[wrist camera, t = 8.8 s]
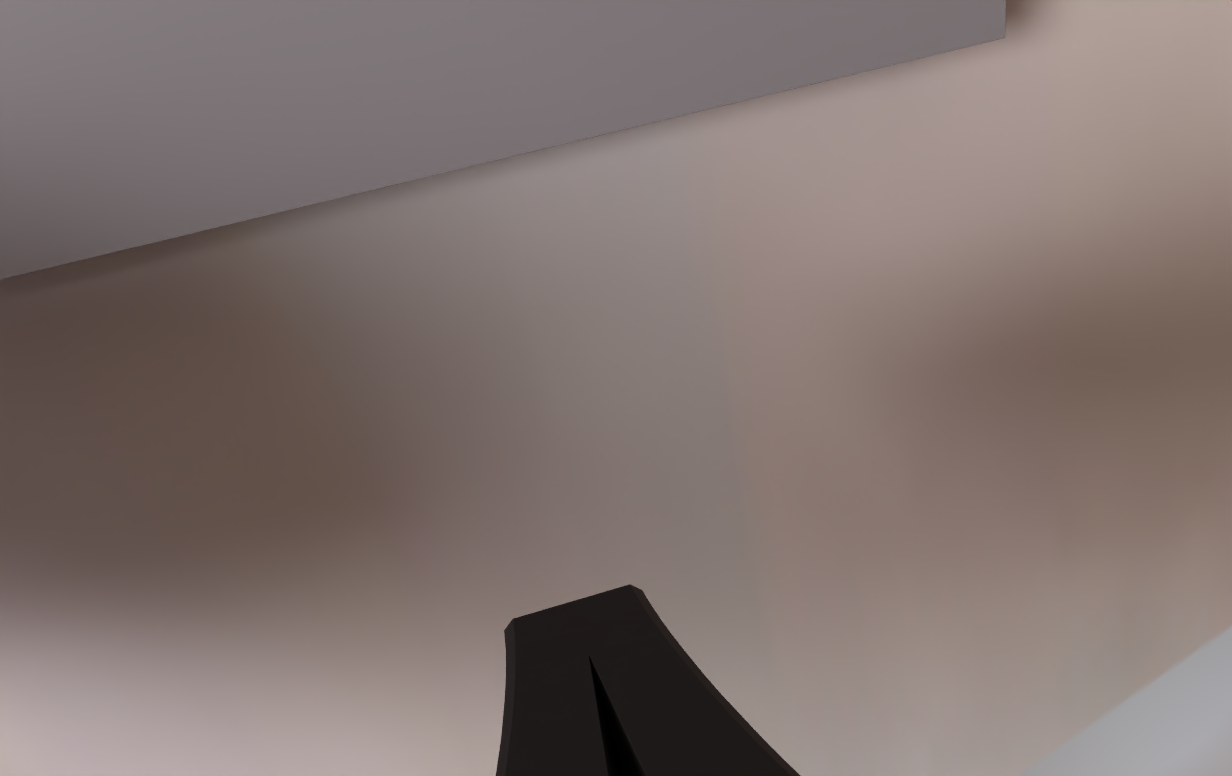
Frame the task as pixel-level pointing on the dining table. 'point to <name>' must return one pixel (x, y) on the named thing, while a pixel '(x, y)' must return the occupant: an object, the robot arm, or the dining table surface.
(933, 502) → the dining table surface
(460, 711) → the dining table surface
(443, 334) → the dining table surface
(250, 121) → the console
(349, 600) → the dining table surface
